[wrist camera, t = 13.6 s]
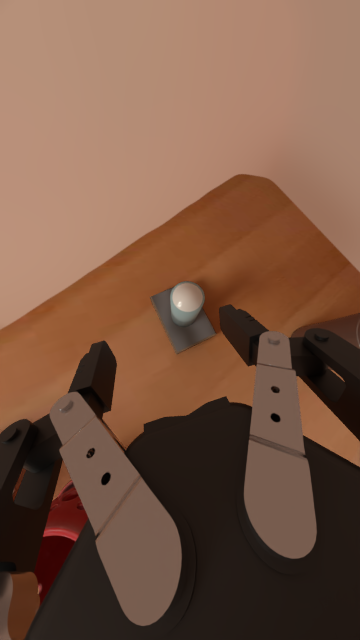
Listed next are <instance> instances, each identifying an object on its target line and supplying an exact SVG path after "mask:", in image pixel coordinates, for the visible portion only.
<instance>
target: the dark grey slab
mask: <svg viewBox="0 0 360 640" xmlns="http://www.w3.org/2000/svg"><path fill="white" fill-rule="evenodd" d="M173 288H174V287H172V288H170V289H168V290H165V291H163V292H161V293H158V294H156V295H154V296H151V297H150V299H151V301H152V304H153V306H154V308H155V310H156V312H157V314H158V317H159V319H160V321H161V323H162V325H163V327H164V329H165V331H166V334H167V336H168V338H169V340H170V342H171V344H172V346H173V349H174V351H175V353H176V354H178V353H180V352H182V351H184V350H186V349H188V348H190V347H193V346H195V345H197V344H199V343H201V342H203V341H205V340H207V339H209V338H211V337H213V336H215V335H216V332H215V330H214V328H213V327H212V325H211V323H210V321H209V319H208V317H207V315H206V313H205V312H204V310H203V308H201V310H200V312H199V313H198V315H197V317H196V319H195V321H194V322H193V324H191V325H190V326H188V327H180V326H178V325H176V324H175V323H174V322H173V320H172V317H171V301H170V295H171V291H172V289H173Z"/></svg>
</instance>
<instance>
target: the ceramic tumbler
mask: <svg viewBox="0 0 360 640" xmlns="http://www.w3.org/2000/svg"><path fill="white" fill-rule="evenodd" d="M170 301H171V317H172V320H173V322H174V323H175V324H176V325H178V326H180V327H188V326H190V325H191V324H193V322H194V321H195V319H196V317H197V315H198V313H199V312H200V310H201V308H202V306H203V304H204V301H205V296H204V292H203V290H202V288H201V287H200V286H199V285H197V284H196V283H193V282H189V281H185V282H181V283H179V284H177V285H176V286H175V287H174V288H173V289H172V291H171V295H170Z"/></svg>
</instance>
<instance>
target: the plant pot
mask: <svg viewBox="0 0 360 640" xmlns="http://www.w3.org/2000/svg"><path fill="white" fill-rule="evenodd" d="M87 519H88V515H87V513H86V511H85V509H84V506H83V504H82V502H81V499H80V497H79V495H78V493H77V490H76V488H75V486H74V483H73V481H72V480H71V481H70V482H69V483H68V484H67V485H66V486H65V487H64V488H63V489H62V491H61V492H60V494H59V495H58V497H57V498H56V499H55V500H53V501H52V504H51V507H50V511H49V515H48V519H47V523H46V527H45V531H44V535H43V539H42V543H41V547H40V550H39V554H38V558H37V562H36V566H35V570H34V574H35V576H36V578H37V581H38V587H39V594H38V595H39V596H40V605H41V604H42V602H43V600H44V598H45V596H46V594H47V593H48V591H49V589H50V587H51V585H52V584H53V582H54V580H55V578H56V576H57V574H58V573H59V571H60V569H61V567H62V565H63V563H64V562H65V560H66V558H67V556H68V554H69V552H70V551H71V549H72V547H73V545H74V543H75V541H76V540H77V538H78V536H79V534H80V532H81V530H82V529H83V527H84V525H85V523H86V521H87ZM39 607H40V606H39Z"/></svg>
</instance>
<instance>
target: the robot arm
mask: <svg viewBox="0 0 360 640" xmlns="http://www.w3.org/2000/svg"><path fill="white" fill-rule="evenodd" d="M219 315H220V327H221V330H222V332H223V334H224V335H225V337H226V338H227V339H228V341H229V342H230V343H231V344H232V346H233V347H234V348H235V350H236V351H237V352H238V354H239V355H240V356H241V358H242V359H243V360H244V362H245V363H246V364H247V366H251V365H255V366H256V377H255V387H254V396H253V406H252V407H251V406H249V405H246V404H242V403H234V402H229V401H228V399H227V397H226V396H225V397H222V398H220V399H217V400H214V401H211V402H208V403H206V404H204V405H203V406H201V407H200V408H198V409H197V410H195V411H194V412H192V413H191V414H189V415H187V416H174V417H163V418H160V419H157V420H155V421H152V422H149V423H146V424H144V432H143V433H142V434H140V435H139V436H138V437H137V438H136V439H135V440H134V441H133V442H132V443H131V444H130V445H129V446H128V448H127V449H126V448H125V447H124V446H123V444H122V443H121V442H120V441H119V440H118V438H117V437H116V436H115V434H114V433H113V432H112V431H111V429H110V428H109V427H108V426H107V424H106V423H105V422H104V421H103V419H102V417H103V413H105V412H108V411H111V405H112V397H113V390H114V382H115V374H116V367H117V363H116V359H115V356H114V355H113V353H112V351H111V349H110V348H109V346H108V344H107V343H106V341H101V342H98V343H94V344H92V345H91V348H90V351H89V353H87V354H85V356H84V357H83V358H82V359H81V360H80V363H79V366H78V368H77V371H76V374H75V376H74V379H73V381H72V384H71V386H70V389H69V391H68V394H66V395H64V396H63V397H61V398H60V399H59V400H58V401H57V402H56V403H55V404H54V405H53V407H52V409H51V411H50V413H49V414H48V415H46V416H44V417H43V418H41V419H39V420H37V421H36V422H34V423H31V422H30V421H29V420H27V419H22V420H19V421H17V422H15V423H13V424H11V425H10V426H9V427H7V428H6V429H5V430H4V431H3V432H2V433H1V434H0V640H360V467H359V466H357V465H355V464H353V463H351V462H350V461H348V460H346V459H344V458H343V457H341V456H339V455H337V454H336V453H334V452H332V451H330V450H328V449H327V448H325V447H323V446H321V445H320V444H318V443H316V442H314V441H312V440H311V439H309V438H307V437H305V436H304V435H303V433H302V424H301V415H300V406H299V397H298V388H297V379H296V376H299V377H300V378H301V379H302V380H303V381H304V382H305V383H306V384H307V385H308V386H309V388H310V389H311V390H312V391H313V392H314V393H315V394H316V395H317V396H318V397H319V398H320V399H321V400H322V401H323V402H324V403H325V405H326V406H327V407H328V408H329V409H330V410H331V411H332V412H333V413H334V414H335V415H336V416H337V417H338V418H339V419H340V420H341V422H342V423H343V424H344V425H345V426H346V427H347V428H348V429H349V430H350V431H351V432H352V433H353V434H354V435H355V436H356V438H357V439H358V440H359V441H360V313H358V314H354V315H350V316H346V317H342V318H338V319H334V320H330V321H326V322H322V323H318V324H313V325H310V326H306V327H302V328H299V329H297V330H296V331H295V332H294V333H293V334H292V336H291V338H288V337H287V336H286V335H284V334H282V333H280V332H275V331H269V330H267V329H266V328H265V327H264V326H263V325H262V324H260V323H259V322H258V321H257V320H255V319H254V318H253V317H251V315H250V314H249V313H247V312H246V311H243V310H241V309H238V310H236V309H235V308H234V307H233V306H232V305H231V304H230V305H226V306H223V307H220V308H219ZM331 370H334V371H335V372H336V373H337V374H339V375H340V376H341V377H342V378H343V379H344V381H345V382H344V381H343V380H341V379H340V378H339V377H338V376H337V375H336V374H334V373H333V372H332V371H331ZM62 460H63V461H64V463H65V465H66V467H67V470H68V472H69V474H70V477H71V479H72V481H73V483H74V486H75V488H76V490H77V493H78V495H79V497H80V499H81V502H82V504H83V506H84V509H85V511H86V513H87V515H88V519H87V521H86V523H85V525H84V527H83V529H82V530H81V532H80V534H79V536H78V538H77V540H76V541H75V543H74V545H73V547H72V549H71V551H70V552H69V554H68V556H67V558H66V560H65V562H64V563H63V565H62V567H61V569H60V571H59V573H58V574H57V576H56V578H55V580H54V582H53V584H52V585H51V587H50V589H49V591H48V593H47V594H46V596H45V598H44V600H43V602H42V604H41V605H40V596H39V595H38V594H37V593H38V581H37V578H36V576H35V574H34V570H35V566H36V562H37V558H38V554H39V550H40V547H41V543H42V539H43V535H44V531H45V527H46V523H47V519H48V515H49V511H50V507H51V504H52V500H53V496H54V492H55V488H56V484H57V480H58V476H59V472H60V468H61V464H62ZM22 468H23V469H26V472H25V474H24V477H23V480H22V482H21V485H20V487H19V490H18V492H17V495H16V497H15V500H14V502H13V490H14V488H15V485H16V483H17V480H18V478H19V475H20V473H21V471H22ZM39 606H40V607H39Z"/></svg>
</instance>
